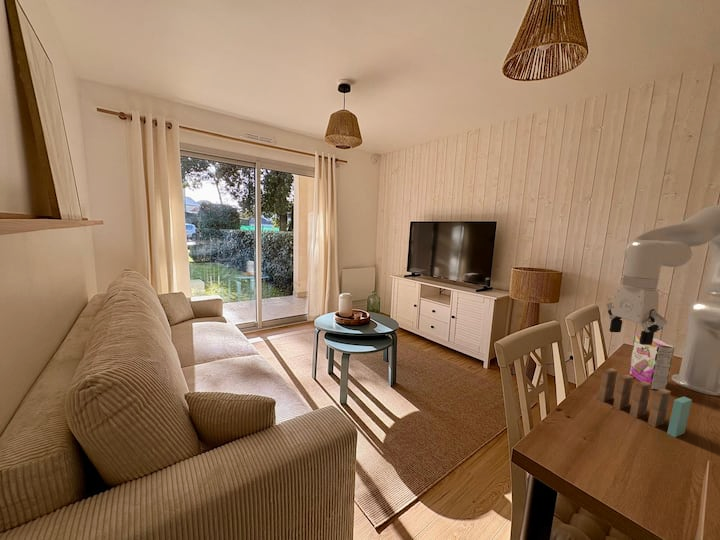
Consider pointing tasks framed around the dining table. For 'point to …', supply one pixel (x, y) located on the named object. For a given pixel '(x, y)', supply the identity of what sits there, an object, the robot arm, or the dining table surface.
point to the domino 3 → (640, 399)
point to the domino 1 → (607, 384)
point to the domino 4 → (659, 407)
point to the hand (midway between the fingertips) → (629, 337)
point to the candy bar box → (651, 362)
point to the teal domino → (679, 416)
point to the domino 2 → (623, 391)
